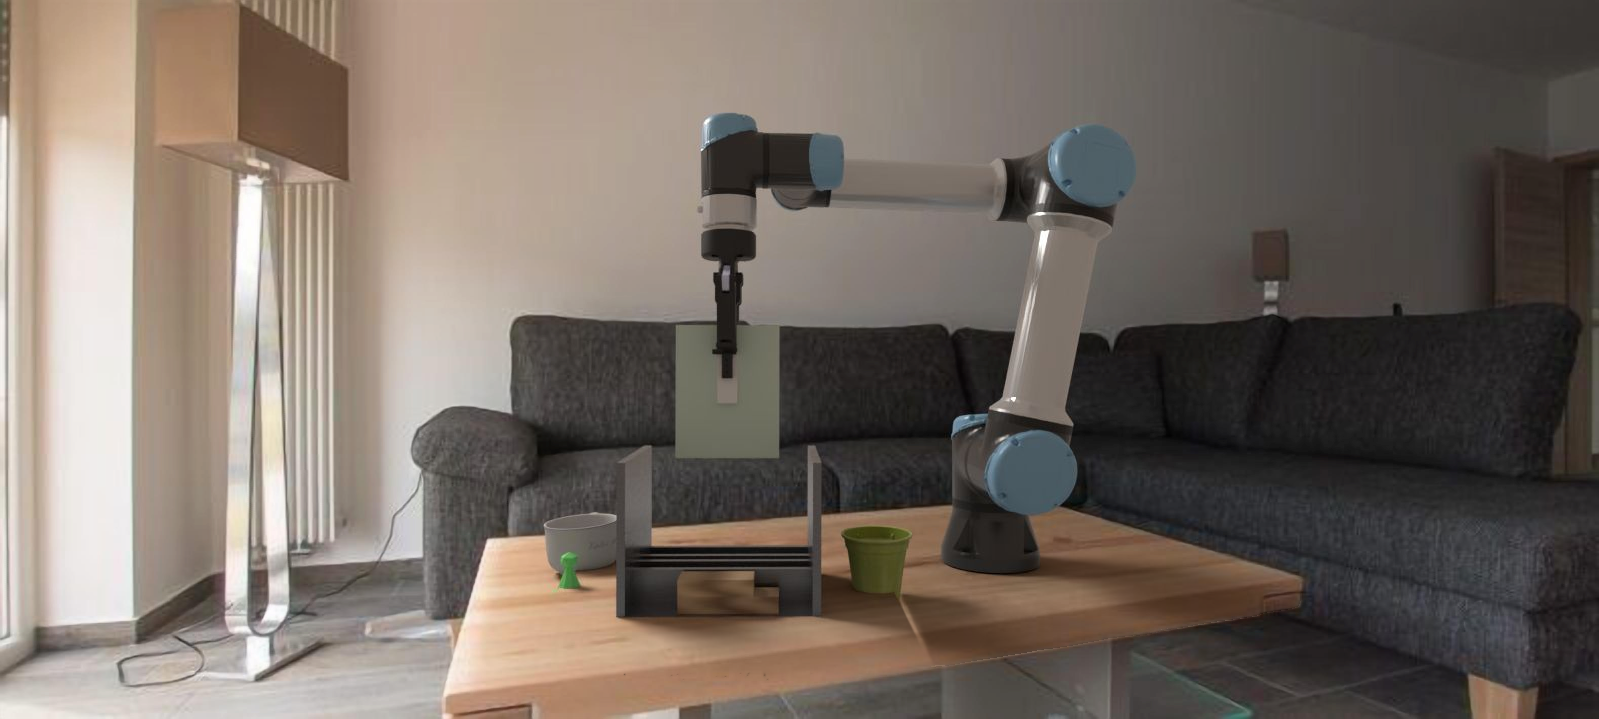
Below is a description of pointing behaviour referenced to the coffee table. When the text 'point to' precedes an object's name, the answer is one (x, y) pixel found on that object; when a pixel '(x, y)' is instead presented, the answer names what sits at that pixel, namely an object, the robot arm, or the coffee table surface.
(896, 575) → the plant pot
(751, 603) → the offcut lower
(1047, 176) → the robot arm
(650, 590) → the rack
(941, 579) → the coffee table surface
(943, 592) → the coffee table surface
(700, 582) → the offcut upper
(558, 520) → the teacup
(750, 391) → the sage panel
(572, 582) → the game piece
